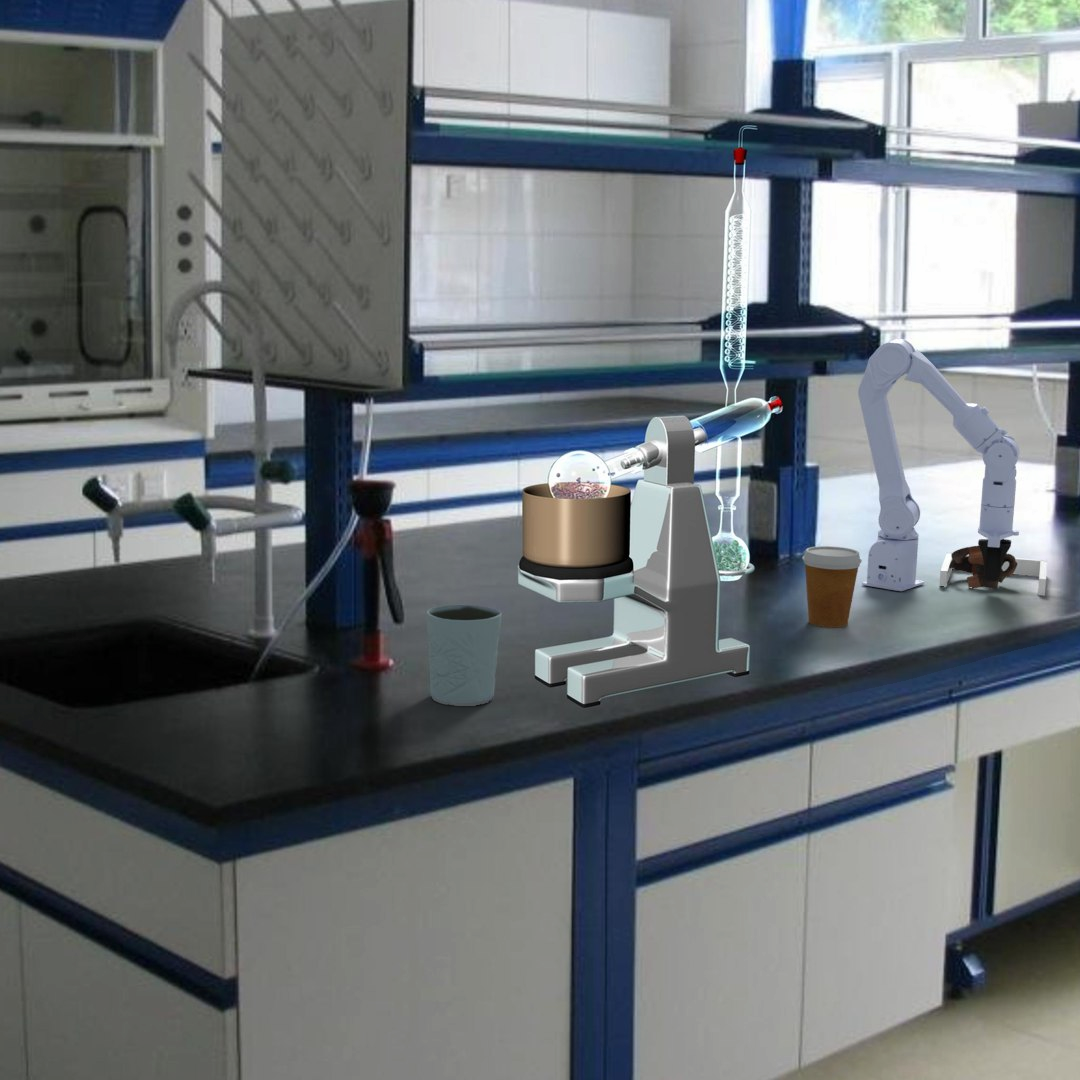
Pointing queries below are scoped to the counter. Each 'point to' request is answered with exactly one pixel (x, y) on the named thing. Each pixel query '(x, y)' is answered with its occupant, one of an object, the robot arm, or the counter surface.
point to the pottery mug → (979, 566)
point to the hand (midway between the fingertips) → (991, 580)
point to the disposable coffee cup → (830, 584)
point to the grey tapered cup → (463, 652)
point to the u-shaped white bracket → (1023, 568)
